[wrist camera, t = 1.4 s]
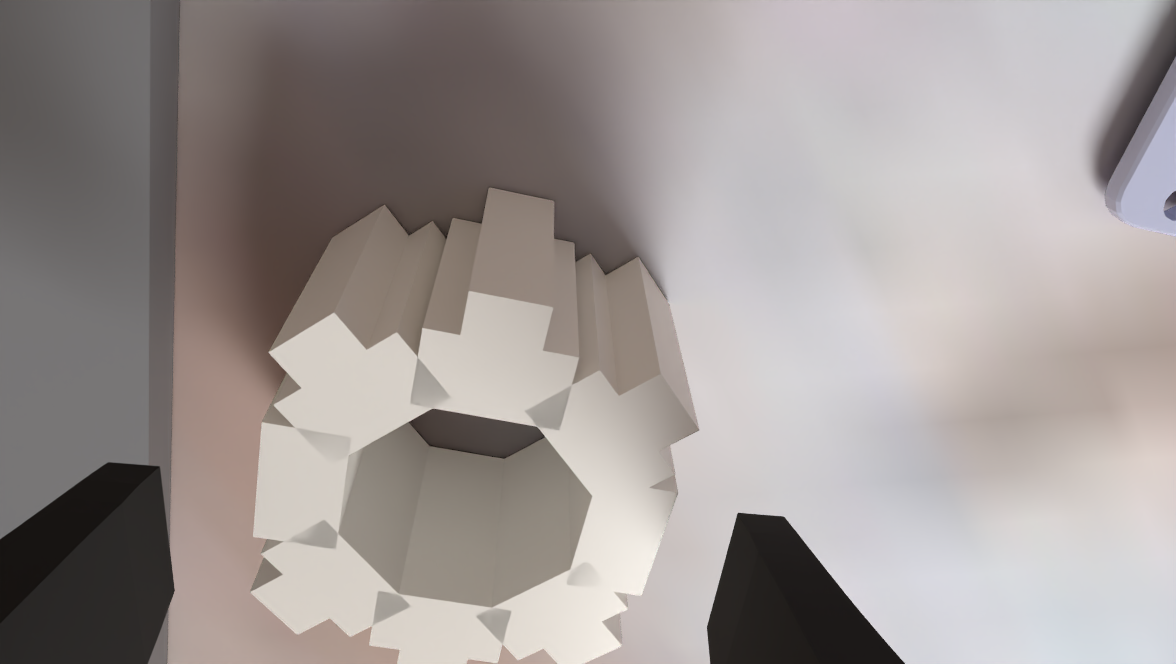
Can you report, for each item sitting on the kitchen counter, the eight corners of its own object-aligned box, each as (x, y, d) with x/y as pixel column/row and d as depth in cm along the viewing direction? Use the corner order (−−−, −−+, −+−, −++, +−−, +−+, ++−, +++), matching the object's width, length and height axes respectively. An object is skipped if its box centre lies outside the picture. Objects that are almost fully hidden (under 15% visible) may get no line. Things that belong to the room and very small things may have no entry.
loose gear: (693, 230, 14) (732, 341, 11) (594, 548, 17) (602, 705, 14) (340, 156, 13) (274, 252, 10) (302, 501, 16) (244, 657, 13)
